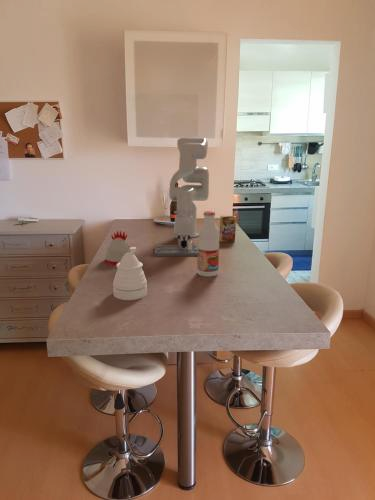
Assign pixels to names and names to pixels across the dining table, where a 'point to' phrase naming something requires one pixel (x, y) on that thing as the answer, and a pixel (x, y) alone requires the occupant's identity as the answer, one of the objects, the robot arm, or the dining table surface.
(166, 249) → the console
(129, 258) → the honey pot
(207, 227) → the fruit juice
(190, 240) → the fader
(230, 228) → the candy box
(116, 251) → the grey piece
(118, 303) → the dining table surface
